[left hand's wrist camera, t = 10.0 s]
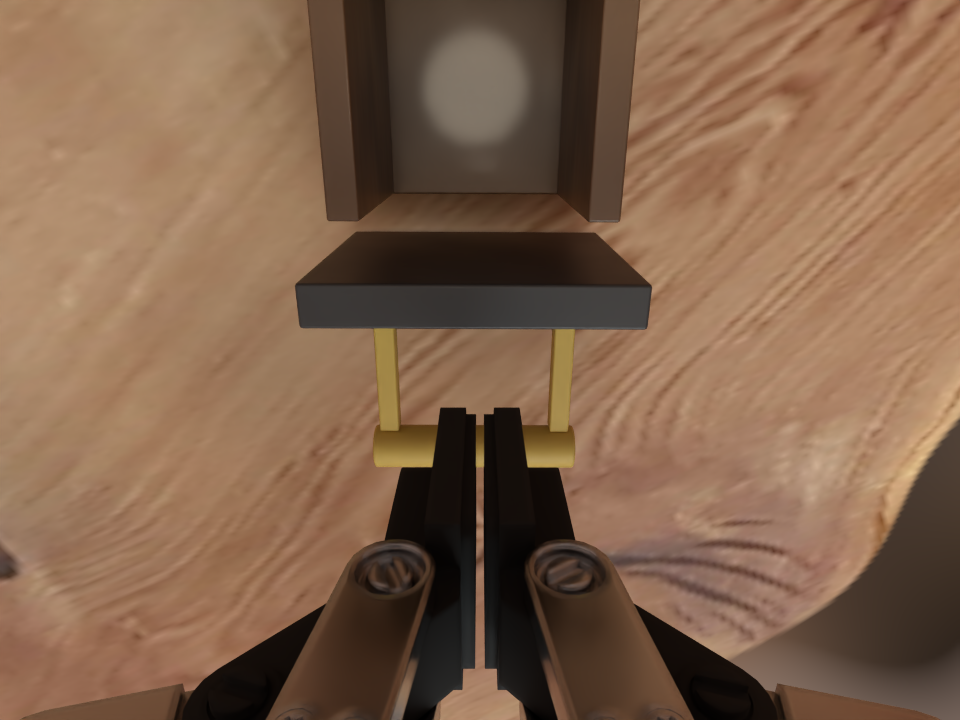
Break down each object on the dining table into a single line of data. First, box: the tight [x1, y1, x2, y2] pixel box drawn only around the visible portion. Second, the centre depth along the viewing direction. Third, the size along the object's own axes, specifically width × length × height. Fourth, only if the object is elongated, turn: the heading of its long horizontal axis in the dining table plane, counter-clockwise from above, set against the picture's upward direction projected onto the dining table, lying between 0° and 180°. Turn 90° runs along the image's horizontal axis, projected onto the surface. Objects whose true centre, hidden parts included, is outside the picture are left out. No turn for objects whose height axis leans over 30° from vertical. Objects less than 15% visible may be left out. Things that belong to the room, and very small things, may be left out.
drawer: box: [295, 0, 652, 467], centre depth 16 cm, size 24×9×8 cm, turn 0°
